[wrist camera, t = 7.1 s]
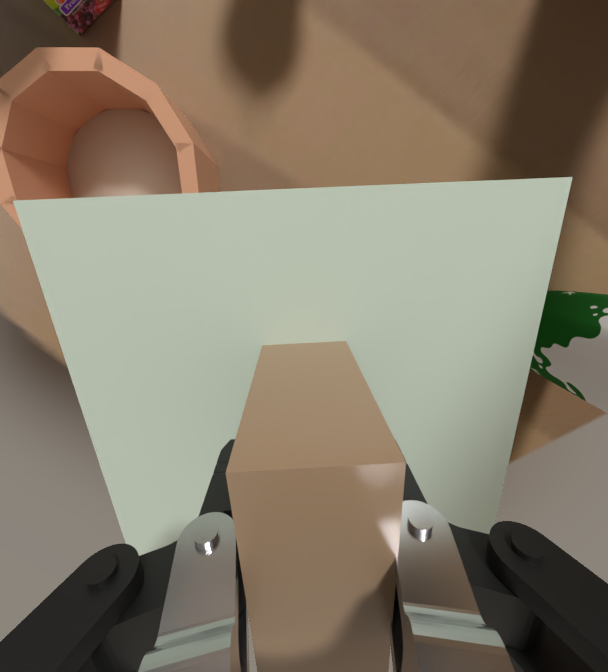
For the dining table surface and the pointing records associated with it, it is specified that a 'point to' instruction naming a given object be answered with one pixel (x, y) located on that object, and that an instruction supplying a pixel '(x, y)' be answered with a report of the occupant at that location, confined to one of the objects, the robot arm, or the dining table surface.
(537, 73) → the dining table surface
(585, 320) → the milk carton
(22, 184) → the bowl
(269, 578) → the lid
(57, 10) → the snack box
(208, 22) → the dining table surface
